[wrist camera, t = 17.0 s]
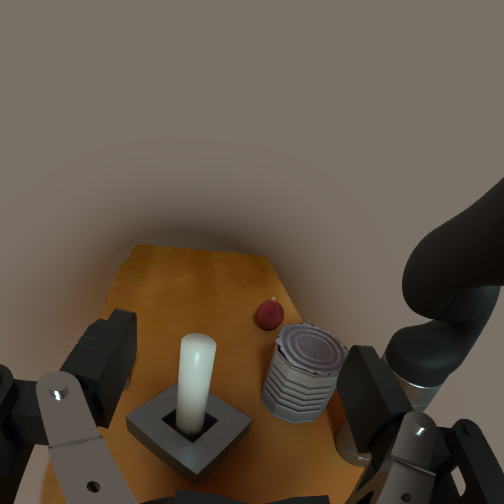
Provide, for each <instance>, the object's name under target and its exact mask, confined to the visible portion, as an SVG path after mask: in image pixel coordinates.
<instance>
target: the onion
mask: <svg viewBox="0 0 504 504" xmlns="http://www.w3.org/2000/svg"><path fill="white" fill-rule="evenodd" d="M256 318H257V321H258V323H259V324H260V325H261V326H262V327H263V328H264V329H265V330H270V329H274V328H277V327H278V326H279V325H280V324H281V323H282V321H283V318H284V310H283V308H282V306H281V305H280V304H279V303H278V302H277V300H276V299H275V297H271V300H268V301H265V302H263V303H262V304H261V305H260V306H259V307H258V309H257V312H256Z"/></svg>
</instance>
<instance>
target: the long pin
mask: <svg viewBox="0 0 504 504" xmlns="http://www.w3.org/2000/svg"><path fill="white" fill-rule="evenodd" d="M215 350H216V343H215V341H214V340H213V339H212V338H210V337H209V336H207V335H204V334H198V333H193V334H189V335H186V336H185V337H183V339H182V341H181V352H180V364H179V378H178V393H177V411H176V431H177V432H178V433H179V434H181V435H182V436H183V437H185V438H186V439H187V440H189V441H190V442H191V443H194V442H195V441H196V440H197V439H199V438H200V437H201V436H202V429H203V423H204V417H205V411H206V404H207V398H208V392H209V386H210V380H211V374H212V368H213V362H214V356H215Z"/></svg>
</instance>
